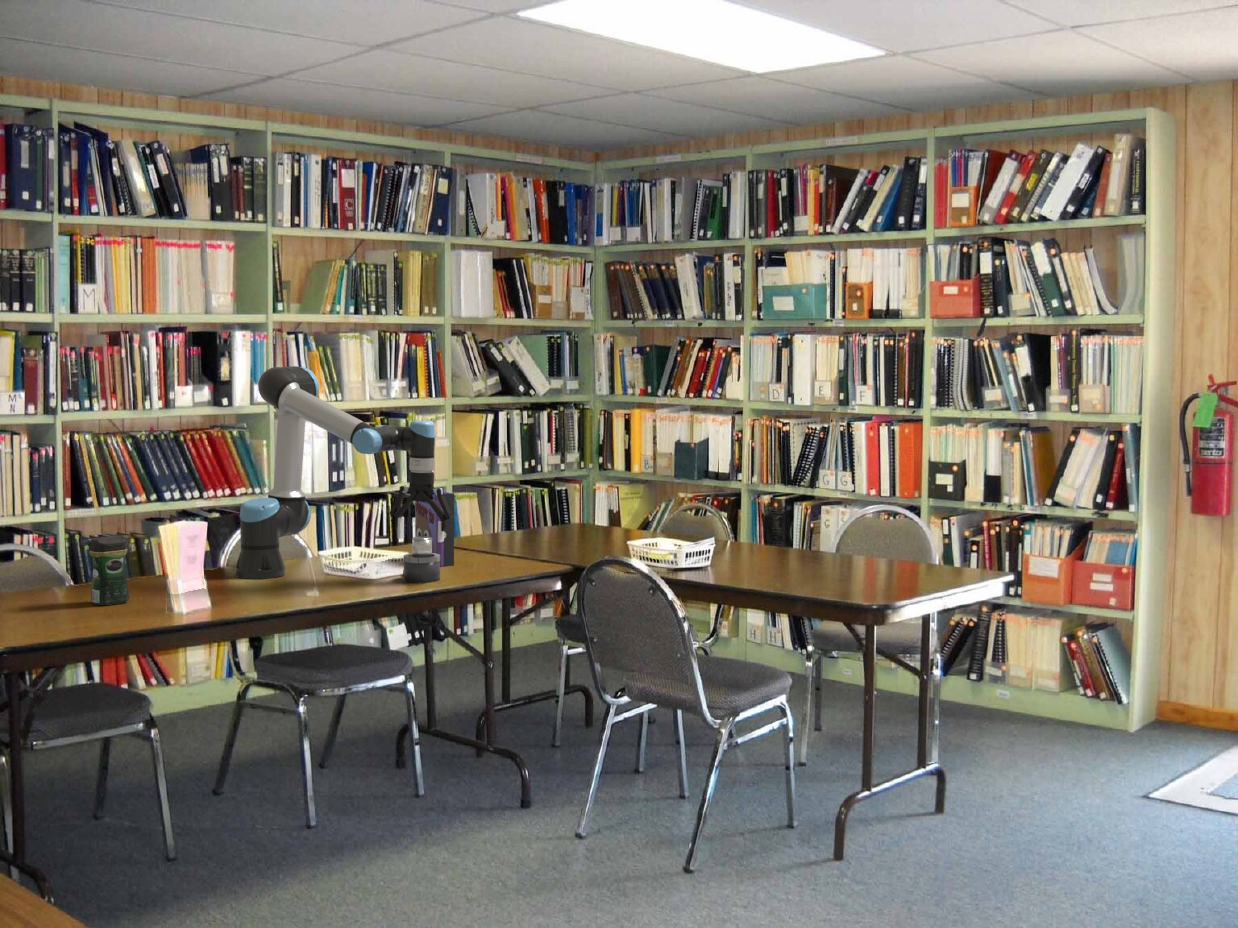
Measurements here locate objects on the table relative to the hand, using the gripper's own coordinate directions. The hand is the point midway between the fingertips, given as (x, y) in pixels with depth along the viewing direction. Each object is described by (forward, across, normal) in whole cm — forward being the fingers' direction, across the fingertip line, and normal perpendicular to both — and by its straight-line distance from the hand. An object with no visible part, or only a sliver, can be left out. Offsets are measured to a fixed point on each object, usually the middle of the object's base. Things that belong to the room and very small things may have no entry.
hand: (420, 540), depth 410 cm
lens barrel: (+12, +1, 0) cm, 12 cm away
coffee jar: (+14, -63, -64) cm, 91 cm away
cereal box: (+13, -9, +30) cm, 34 cm away
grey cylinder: (+6, +1, 0) cm, 6 cm away
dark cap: (+13, -5, +6) cm, 15 cm away
